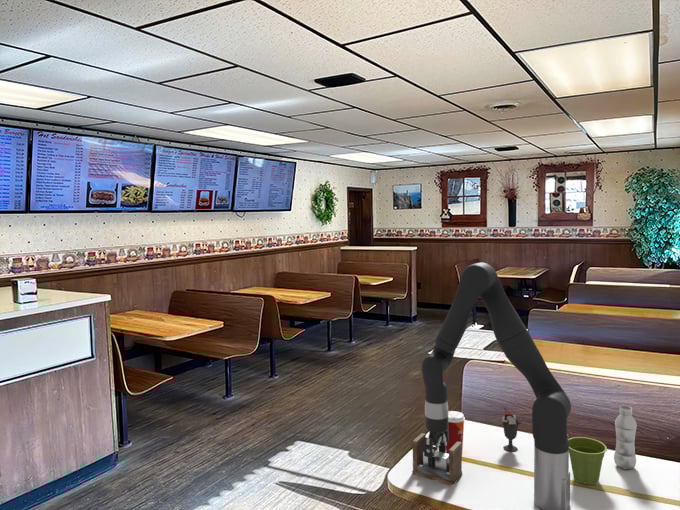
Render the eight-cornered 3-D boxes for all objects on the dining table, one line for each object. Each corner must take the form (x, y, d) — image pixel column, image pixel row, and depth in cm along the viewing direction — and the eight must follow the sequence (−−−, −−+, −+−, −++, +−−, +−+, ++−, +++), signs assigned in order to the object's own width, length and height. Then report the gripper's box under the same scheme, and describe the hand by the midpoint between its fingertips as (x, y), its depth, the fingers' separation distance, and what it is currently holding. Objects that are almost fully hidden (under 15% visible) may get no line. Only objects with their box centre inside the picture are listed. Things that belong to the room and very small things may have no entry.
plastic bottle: (613, 469, 170) (614, 410, 168) (613, 460, 176) (614, 402, 174) (636, 473, 167) (637, 413, 165) (635, 464, 173) (637, 405, 171)
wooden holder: (462, 474, 169) (462, 441, 168) (452, 485, 163) (452, 451, 162) (422, 463, 177) (422, 432, 176) (412, 473, 170) (411, 441, 170)
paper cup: (465, 458, 180) (465, 419, 179) (442, 457, 181) (442, 418, 180) (464, 448, 187) (464, 410, 186) (443, 447, 189) (442, 409, 188)
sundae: (496, 447, 188) (496, 406, 186) (510, 443, 190) (510, 403, 189) (509, 454, 182) (509, 413, 180) (524, 450, 185) (524, 409, 183)
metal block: (450, 472, 169) (450, 454, 168) (446, 476, 166) (446, 458, 165) (428, 465, 173) (427, 448, 173) (423, 470, 170) (423, 452, 170)
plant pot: (574, 466, 172) (574, 433, 172) (612, 479, 164) (613, 444, 163) (558, 479, 165) (558, 445, 164) (597, 493, 156) (597, 457, 155)
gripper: (438, 423, 160) (439, 474, 161) (455, 408, 172) (456, 456, 173) (416, 419, 164) (417, 468, 166) (434, 404, 176) (435, 450, 177)
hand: (437, 461), depth 169 cm, fingers open, 8 cm apart
